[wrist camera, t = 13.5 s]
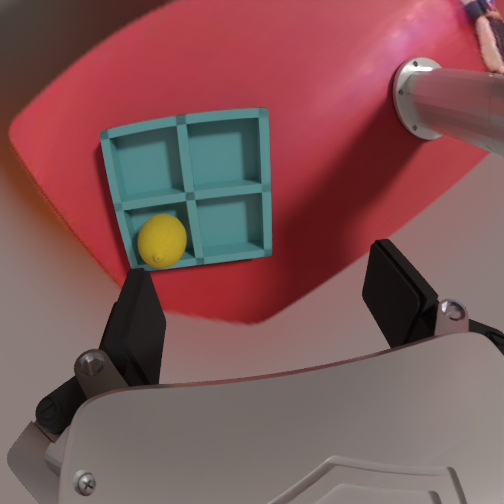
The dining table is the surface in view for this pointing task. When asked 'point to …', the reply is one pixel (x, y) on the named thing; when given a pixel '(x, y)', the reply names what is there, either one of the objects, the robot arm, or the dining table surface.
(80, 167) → the dining table surface
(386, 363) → the robot arm
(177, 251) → the lemon
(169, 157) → the square compartment tray
